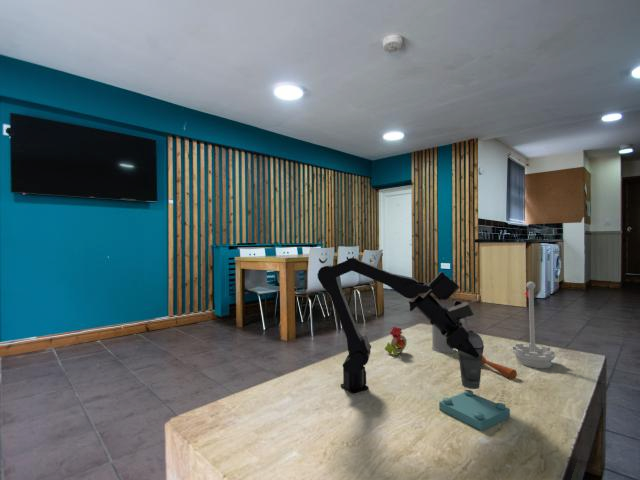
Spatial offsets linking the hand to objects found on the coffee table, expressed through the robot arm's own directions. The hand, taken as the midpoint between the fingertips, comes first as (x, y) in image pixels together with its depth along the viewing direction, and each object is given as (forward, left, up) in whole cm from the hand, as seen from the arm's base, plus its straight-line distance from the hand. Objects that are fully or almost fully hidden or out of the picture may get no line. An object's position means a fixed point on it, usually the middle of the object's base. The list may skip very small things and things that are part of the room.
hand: (475, 352), depth 93 cm
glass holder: (+30, +33, -13) cm, 47 cm away
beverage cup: (-1, +1, -10) cm, 10 cm away
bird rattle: (+9, +42, -13) cm, 45 cm away
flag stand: (+44, +7, -13) cm, 47 cm away
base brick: (-8, -4, -13) cm, 16 cm away
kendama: (+24, +12, -14) cm, 31 cm away
